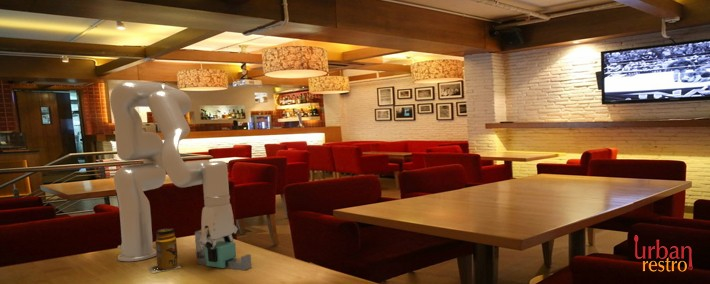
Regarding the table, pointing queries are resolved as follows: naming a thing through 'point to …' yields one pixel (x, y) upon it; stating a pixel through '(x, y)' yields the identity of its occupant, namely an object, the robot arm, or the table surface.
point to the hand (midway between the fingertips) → (220, 257)
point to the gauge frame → (198, 244)
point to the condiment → (166, 251)
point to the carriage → (222, 253)
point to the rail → (228, 261)
